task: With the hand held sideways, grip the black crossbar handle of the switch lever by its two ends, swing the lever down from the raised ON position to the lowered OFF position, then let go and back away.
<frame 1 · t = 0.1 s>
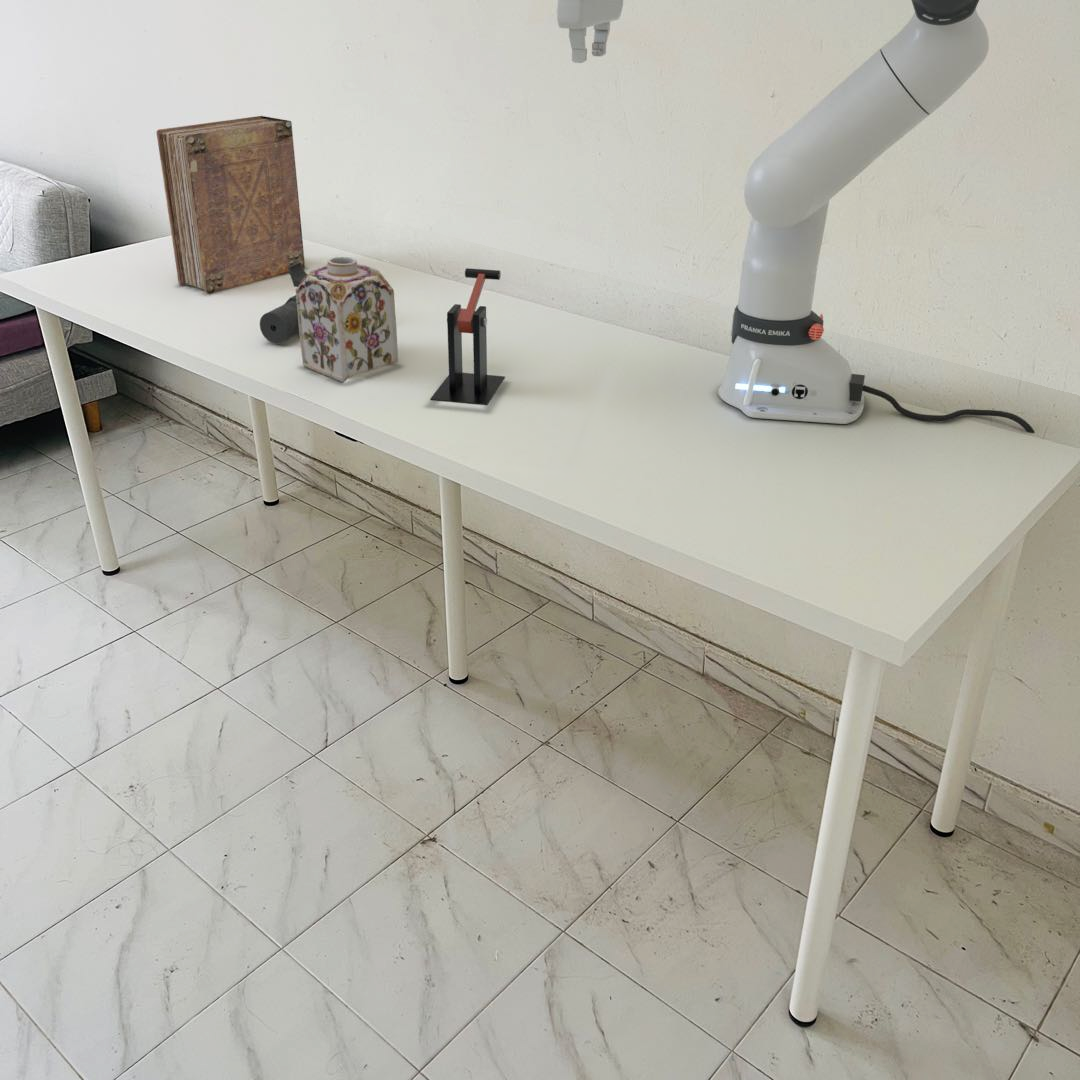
hand: (589, 59, 158), 48 cm above the table, tool pointing down, fingers open, 8 cm apart
switch lever: (474, 298, 170), point 14 cm above the table, hinge at 24.0°
decorative jar: (351, 368, 183), on the table
book: (243, 277, 228), on the table
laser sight: (310, 327, 201), on the table
switch bracket: (468, 394, 173), on the table
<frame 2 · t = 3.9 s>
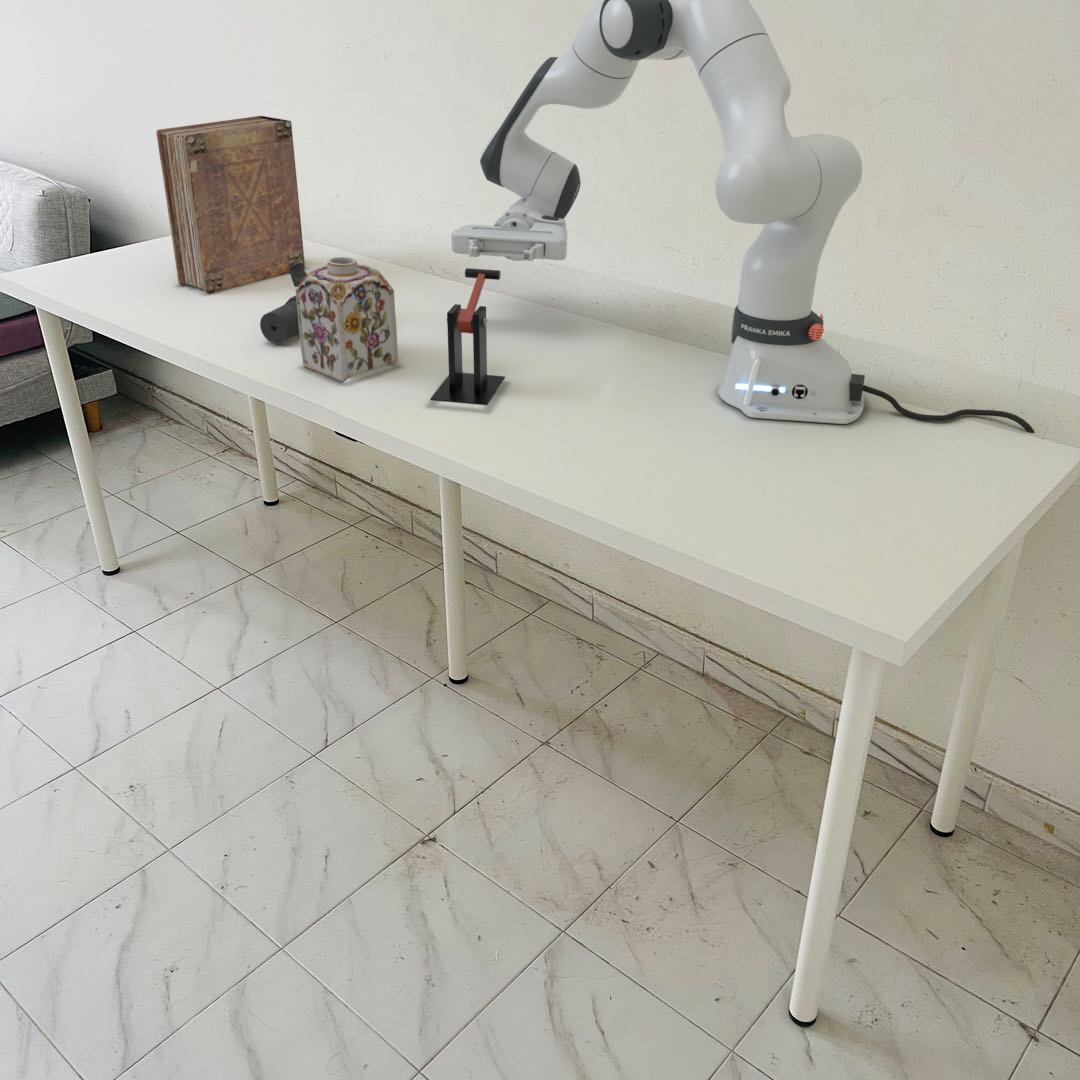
hand: (500, 254, 183), 17 cm above the table, tool horizontal, fingers open, 8 cm apart
nothing on the table moved.
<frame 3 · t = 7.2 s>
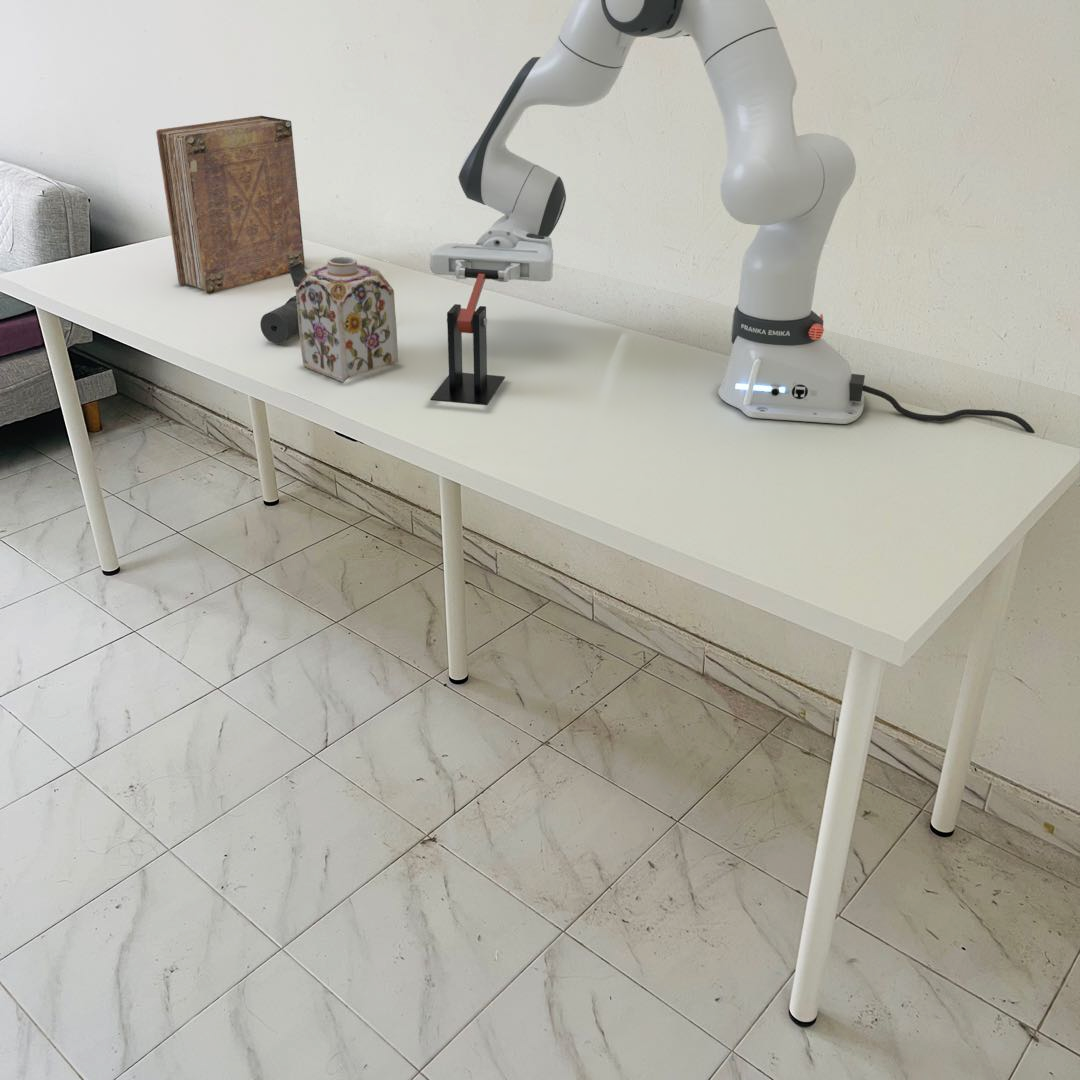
hand: (481, 275, 172), 16 cm above the table, tool horizontal, fingers closed on switch lever, 5 cm apart
switch lever: (474, 298, 170), point 14 cm above the table, hinge at 24.0°, touching gripper
everything else where it was.
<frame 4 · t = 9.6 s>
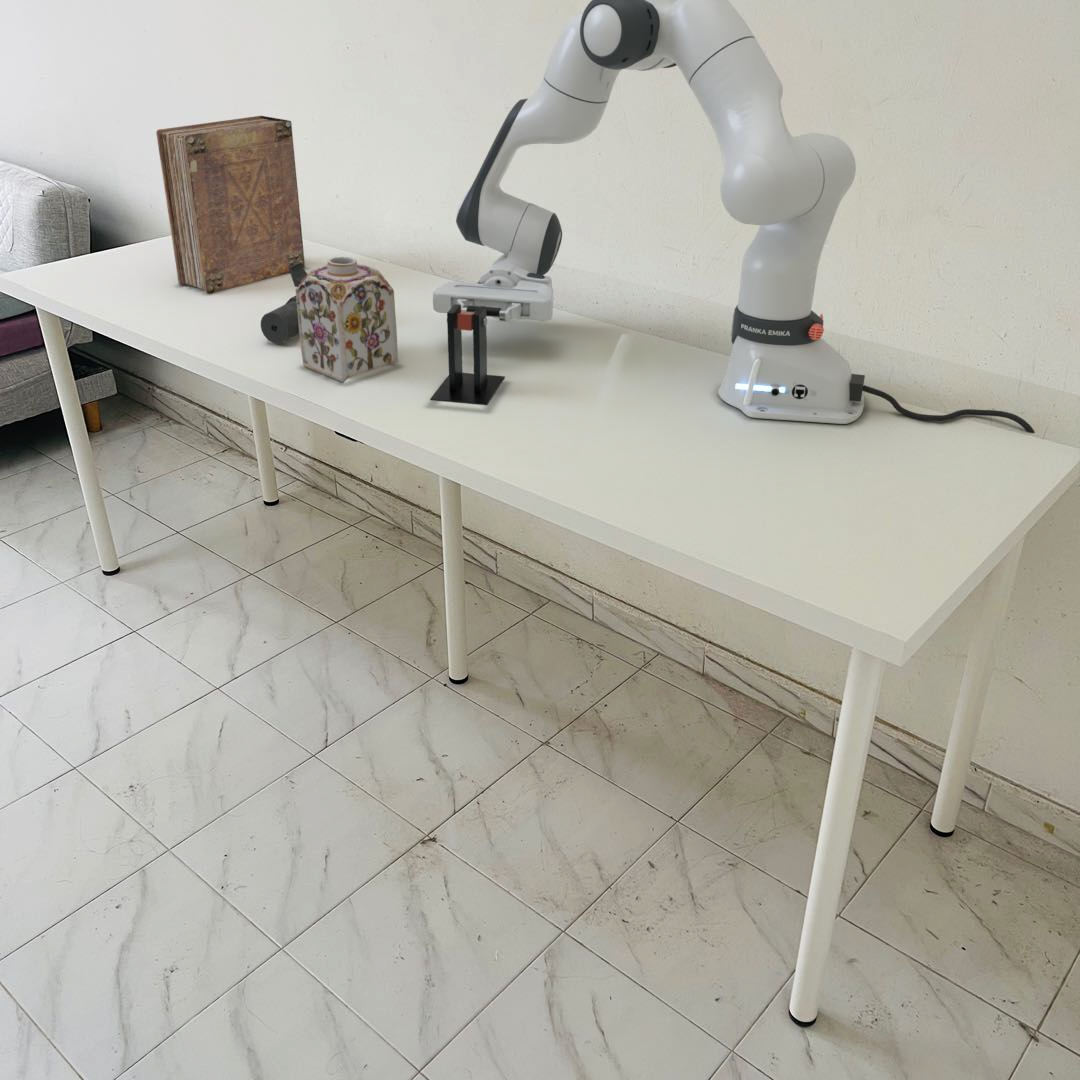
hand: (483, 315, 176), 10 cm above the table, tool horizontal, fingers closed on switch lever, 5 cm apart
switch lever: (475, 316, 171), point 11 cm above the table, hinge at -9.7°, touching gripper
everything else where it was.
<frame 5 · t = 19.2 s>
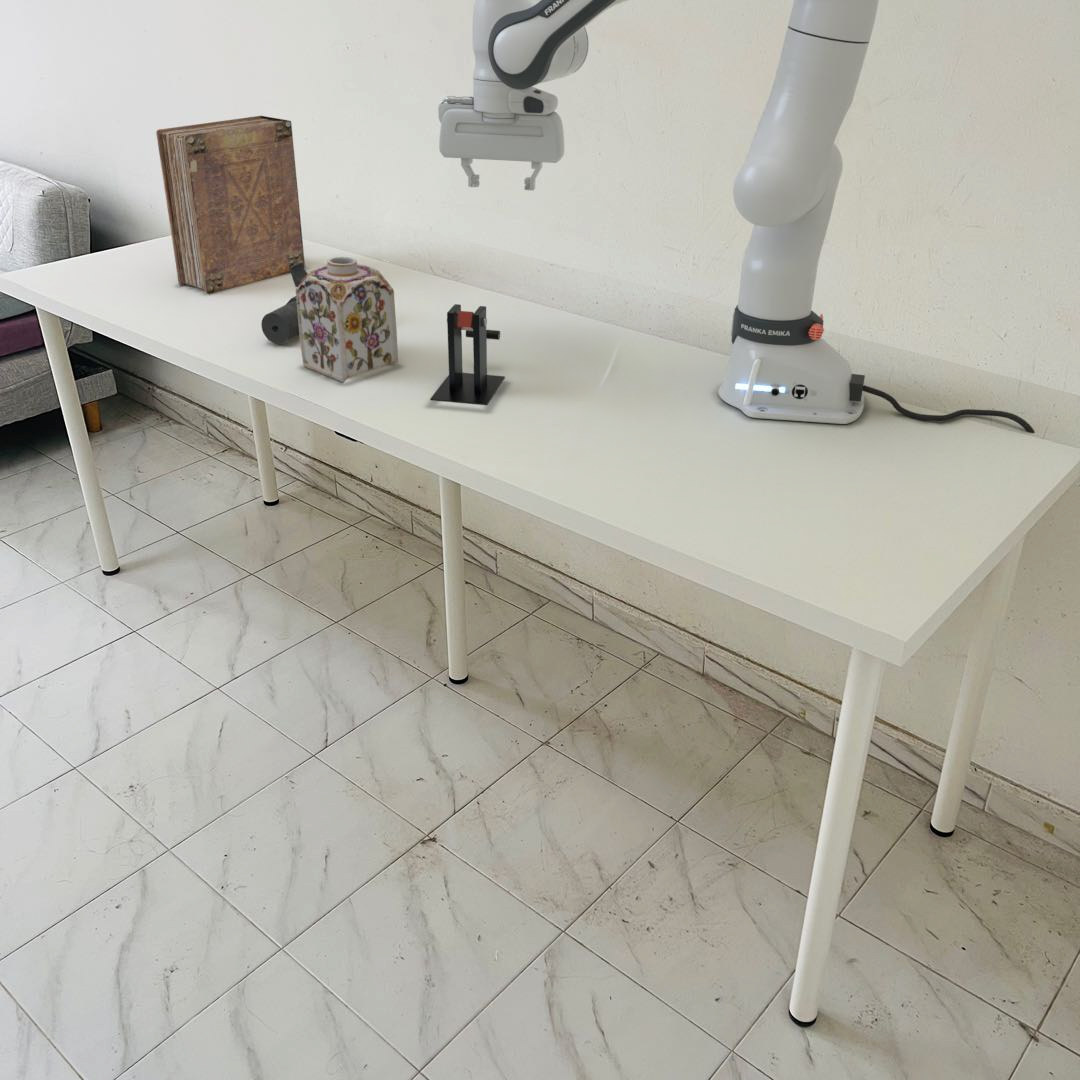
hand: (501, 188, 179), 27 cm above the table, tool pointing down, fingers open, 8 cm apart
switch lever: (474, 327, 172), point 10 cm above the table, hinge at -28.6°
everything else where it was.
at the end: switch lever at -29° (first picture: +24°); the gripper is holding nothing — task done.
